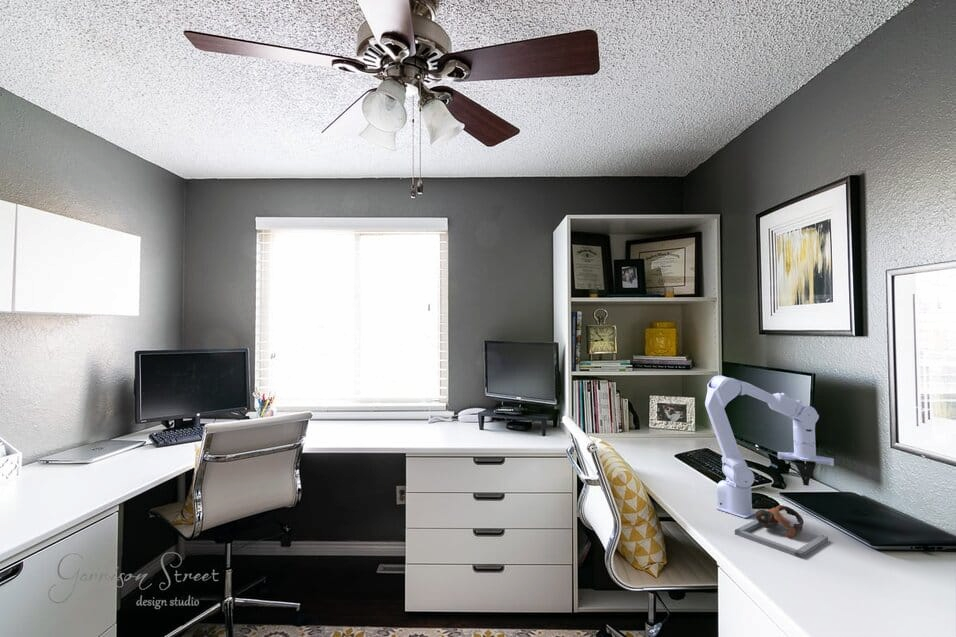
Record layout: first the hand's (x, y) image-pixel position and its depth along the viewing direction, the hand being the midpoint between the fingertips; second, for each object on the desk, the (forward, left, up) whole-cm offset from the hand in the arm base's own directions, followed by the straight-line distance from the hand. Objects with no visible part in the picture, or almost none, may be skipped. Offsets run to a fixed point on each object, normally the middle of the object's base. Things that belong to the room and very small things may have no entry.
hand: (806, 484), depth 145 cm
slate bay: (+3, -24, -9) cm, 26 cm away
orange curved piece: (0, -20, -10) cm, 23 cm away
